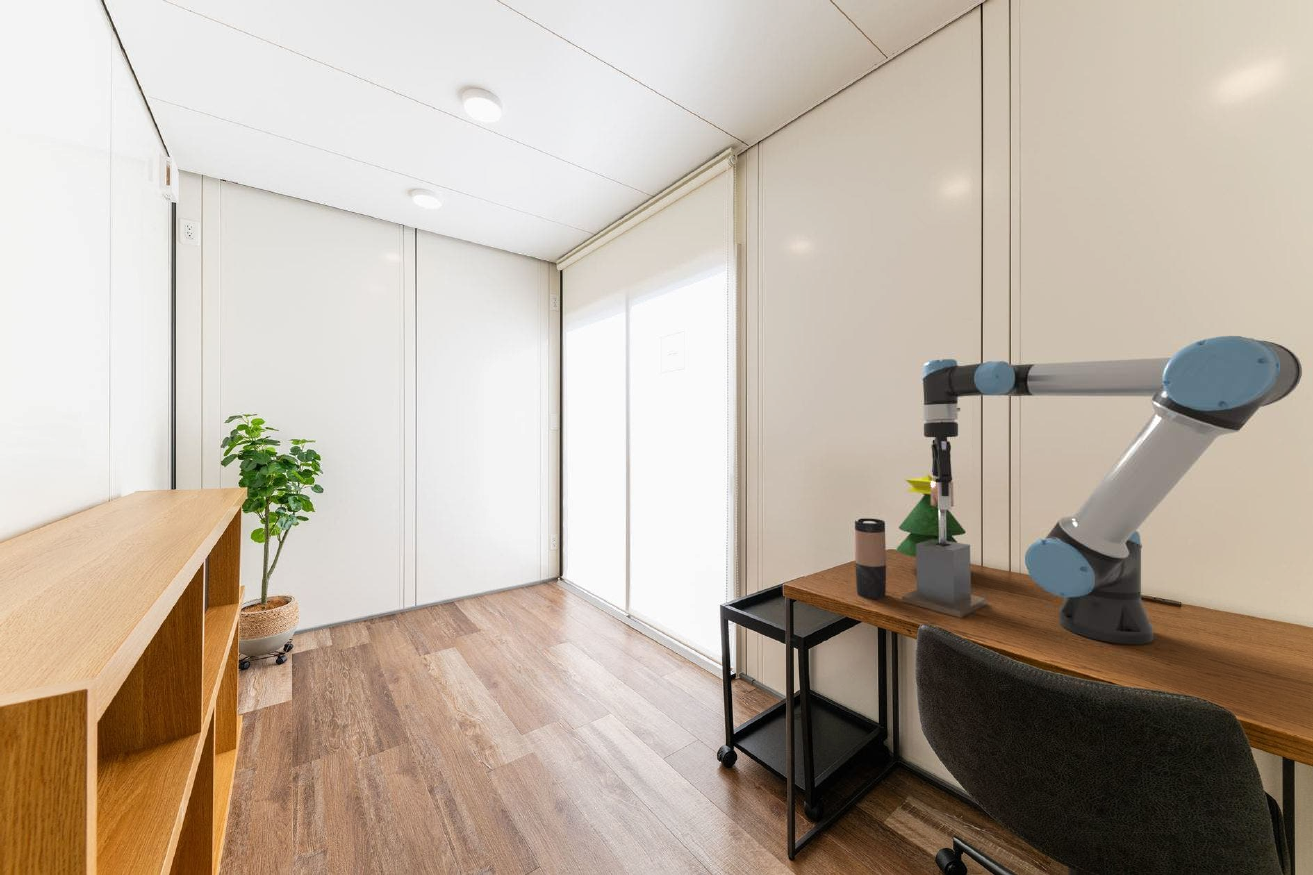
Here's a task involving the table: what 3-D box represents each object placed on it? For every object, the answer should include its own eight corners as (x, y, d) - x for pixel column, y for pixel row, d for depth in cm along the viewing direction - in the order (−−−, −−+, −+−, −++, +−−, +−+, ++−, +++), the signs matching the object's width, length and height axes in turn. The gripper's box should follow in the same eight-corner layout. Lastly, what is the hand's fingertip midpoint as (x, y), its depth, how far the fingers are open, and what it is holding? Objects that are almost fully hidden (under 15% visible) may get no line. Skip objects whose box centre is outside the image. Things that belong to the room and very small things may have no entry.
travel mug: (891, 599, 129) (890, 523, 129) (862, 599, 130) (861, 523, 129) (879, 589, 137) (877, 517, 137) (851, 590, 137) (850, 518, 137)
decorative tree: (942, 585, 139) (940, 479, 139) (883, 568, 156) (881, 474, 156) (982, 574, 148) (980, 474, 147) (922, 559, 165) (921, 470, 165)
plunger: (958, 564, 125) (956, 481, 124) (948, 567, 122) (947, 483, 122) (937, 560, 129) (936, 480, 128) (928, 563, 126) (926, 481, 126)
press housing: (986, 604, 124) (985, 544, 124) (960, 617, 116) (959, 554, 116) (929, 590, 135) (928, 535, 135) (902, 601, 127) (901, 543, 127)
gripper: (965, 421, 112) (966, 514, 112) (951, 421, 135) (952, 498, 135) (927, 422, 115) (928, 512, 115) (920, 421, 138) (921, 497, 138)
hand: (941, 505), depth 125 cm, fingers open, 13 cm apart
